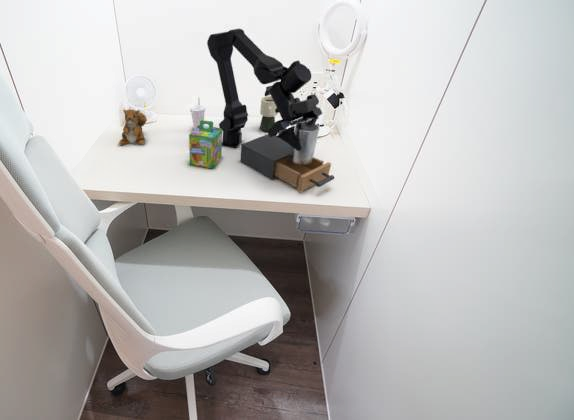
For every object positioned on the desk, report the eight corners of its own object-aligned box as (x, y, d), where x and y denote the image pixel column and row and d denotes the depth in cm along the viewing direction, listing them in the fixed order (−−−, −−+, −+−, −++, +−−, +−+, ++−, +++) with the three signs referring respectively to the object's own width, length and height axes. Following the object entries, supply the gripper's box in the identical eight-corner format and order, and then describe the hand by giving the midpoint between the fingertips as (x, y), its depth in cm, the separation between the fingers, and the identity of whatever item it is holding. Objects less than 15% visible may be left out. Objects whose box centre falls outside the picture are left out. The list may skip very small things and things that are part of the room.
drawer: (338, 182, 101) (342, 168, 98) (311, 198, 95) (314, 183, 92) (293, 160, 113) (295, 147, 110) (266, 172, 107) (267, 159, 104)
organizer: (301, 165, 112) (304, 147, 107) (271, 179, 105) (274, 161, 101) (268, 150, 122) (270, 132, 118) (240, 161, 115) (241, 144, 111)
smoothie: (205, 133, 135) (204, 100, 126) (190, 133, 136) (188, 100, 127) (206, 127, 140) (206, 95, 131) (192, 127, 141) (190, 95, 132)
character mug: (276, 135, 132) (280, 103, 124) (258, 134, 133) (261, 103, 125) (275, 124, 140) (279, 94, 132) (258, 124, 141) (261, 94, 133)
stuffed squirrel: (118, 146, 128) (112, 114, 120) (128, 131, 139) (123, 101, 131) (142, 147, 127) (138, 114, 119) (151, 132, 138) (147, 101, 130)
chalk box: (189, 165, 114) (187, 125, 105) (198, 153, 121) (197, 115, 112) (213, 169, 111) (213, 129, 102) (222, 157, 118) (222, 118, 109)
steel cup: (287, 162, 100) (293, 129, 93) (292, 153, 105) (298, 120, 98) (309, 167, 98) (317, 133, 91) (314, 157, 102) (321, 124, 96)
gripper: (279, 93, 86) (305, 145, 86) (323, 79, 95) (347, 127, 94) (256, 113, 96) (279, 160, 96) (298, 99, 105) (319, 142, 104)
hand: (307, 146), depth 97 cm, fingers closed on steel cup, 7 cm apart
